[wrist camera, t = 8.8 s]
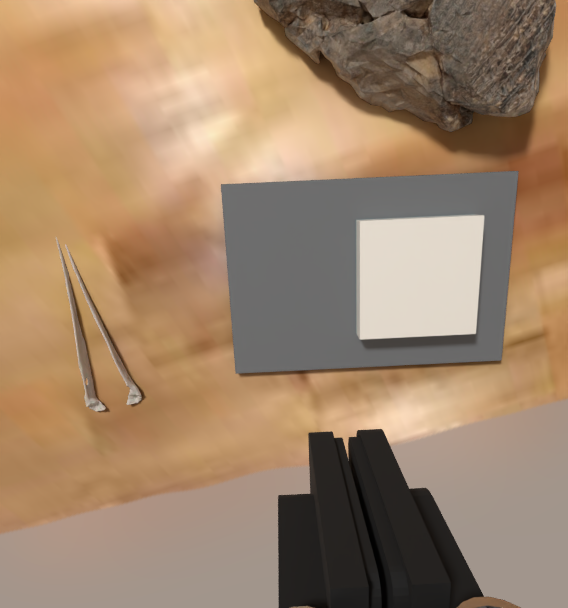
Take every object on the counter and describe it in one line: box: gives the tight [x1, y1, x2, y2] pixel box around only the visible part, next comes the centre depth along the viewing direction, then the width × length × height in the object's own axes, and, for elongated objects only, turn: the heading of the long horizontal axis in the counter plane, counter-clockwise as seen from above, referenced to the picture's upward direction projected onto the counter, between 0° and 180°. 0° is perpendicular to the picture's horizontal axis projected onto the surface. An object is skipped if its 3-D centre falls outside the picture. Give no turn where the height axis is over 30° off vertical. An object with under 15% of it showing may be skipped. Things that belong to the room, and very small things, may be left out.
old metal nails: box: [56, 238, 142, 411], centre depth 34 cm, size 17×5×2 cm, turn 13°
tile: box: [356, 214, 484, 340], centre depth 33 cm, size 2×9×9 cm
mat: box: [221, 171, 518, 373], centre depth 34 cm, size 22×15×1 cm
